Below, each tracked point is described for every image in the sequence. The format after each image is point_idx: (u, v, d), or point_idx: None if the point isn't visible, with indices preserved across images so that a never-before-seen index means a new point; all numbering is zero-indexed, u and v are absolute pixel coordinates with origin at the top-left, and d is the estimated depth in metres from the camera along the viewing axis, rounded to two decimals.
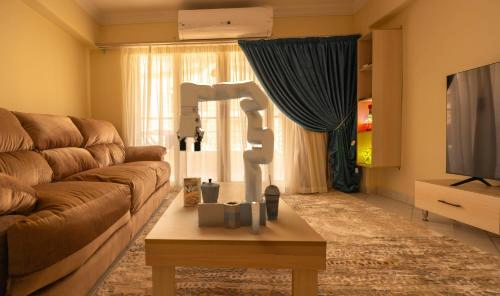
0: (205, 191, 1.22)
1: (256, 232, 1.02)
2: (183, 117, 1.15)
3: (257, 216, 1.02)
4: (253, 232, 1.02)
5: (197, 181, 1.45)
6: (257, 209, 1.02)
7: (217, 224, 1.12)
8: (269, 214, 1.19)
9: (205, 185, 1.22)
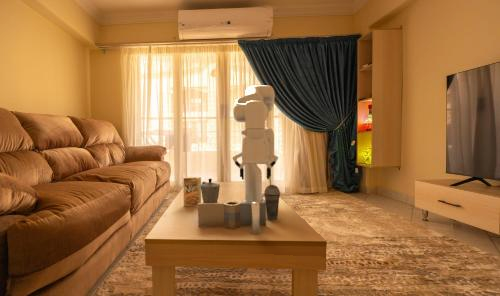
0: (205, 191, 1.22)
1: (256, 232, 1.02)
2: None
3: (257, 216, 1.02)
4: (253, 232, 1.02)
5: (197, 181, 1.45)
6: (257, 209, 1.02)
7: (217, 224, 1.12)
8: (269, 214, 1.19)
9: (205, 185, 1.22)
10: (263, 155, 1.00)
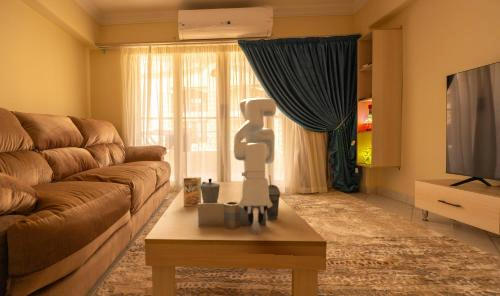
0: (205, 191, 1.22)
1: (256, 232, 1.02)
2: None
3: (257, 216, 1.02)
4: (253, 232, 1.02)
5: (197, 181, 1.45)
6: (257, 209, 1.02)
7: (217, 224, 1.12)
8: (269, 214, 1.19)
9: (205, 185, 1.22)
10: (263, 197, 1.01)
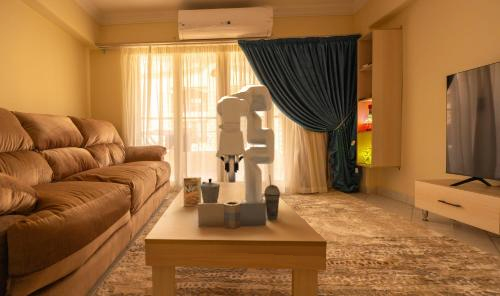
0: (205, 191, 1.22)
1: (232, 180, 1.10)
2: None
3: (233, 165, 1.10)
4: (229, 180, 1.10)
5: (197, 181, 1.45)
6: (233, 159, 1.10)
7: (217, 224, 1.12)
8: (269, 214, 1.19)
9: (205, 185, 1.22)
10: (238, 147, 1.09)
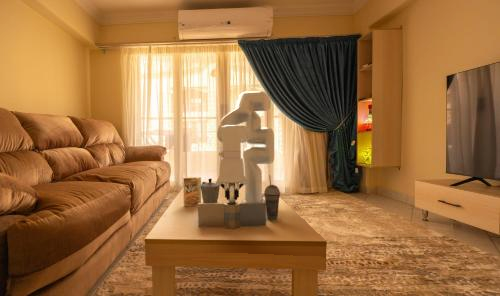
0: (205, 191, 1.22)
1: None
2: None
3: (233, 193, 1.11)
4: None
5: (197, 181, 1.45)
6: (233, 186, 1.10)
7: (217, 224, 1.12)
8: (269, 214, 1.19)
9: (205, 185, 1.22)
10: (238, 175, 1.09)
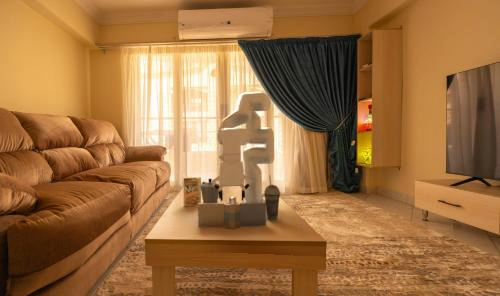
0: (205, 191, 1.22)
1: None
2: None
3: None
4: None
5: (197, 181, 1.45)
6: (234, 203, 1.11)
7: (217, 224, 1.12)
8: (269, 214, 1.19)
9: (205, 185, 1.22)
10: (238, 178, 1.09)
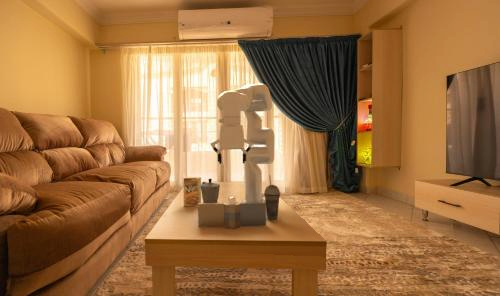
0: (205, 191, 1.22)
1: None
2: None
3: None
4: None
5: (197, 181, 1.45)
6: (233, 203, 1.11)
7: (217, 224, 1.12)
8: (269, 214, 1.19)
9: (205, 185, 1.22)
10: (238, 141, 1.09)
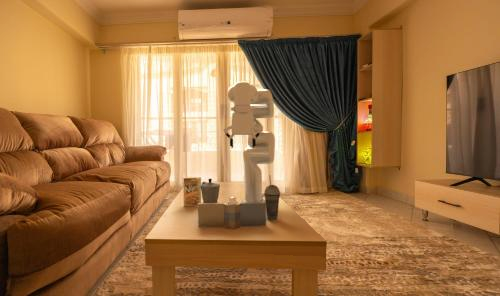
0: (205, 191, 1.22)
1: None
2: None
3: None
4: None
5: (197, 181, 1.45)
6: None
7: (217, 224, 1.12)
8: (269, 214, 1.19)
9: (205, 185, 1.22)
10: (249, 127, 1.20)
